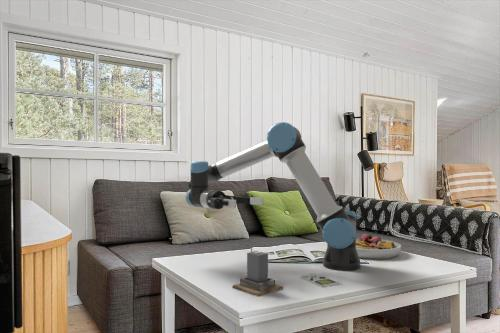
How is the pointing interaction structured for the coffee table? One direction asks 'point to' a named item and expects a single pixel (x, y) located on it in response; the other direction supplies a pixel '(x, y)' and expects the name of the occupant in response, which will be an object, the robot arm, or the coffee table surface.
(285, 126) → the robot arm
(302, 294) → the coffee table surface
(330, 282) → the handheld gaming device
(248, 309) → the coffee table surface
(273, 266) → the coffee table surface
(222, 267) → the coffee table surface
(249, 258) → the block
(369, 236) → the bowl
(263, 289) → the tray
